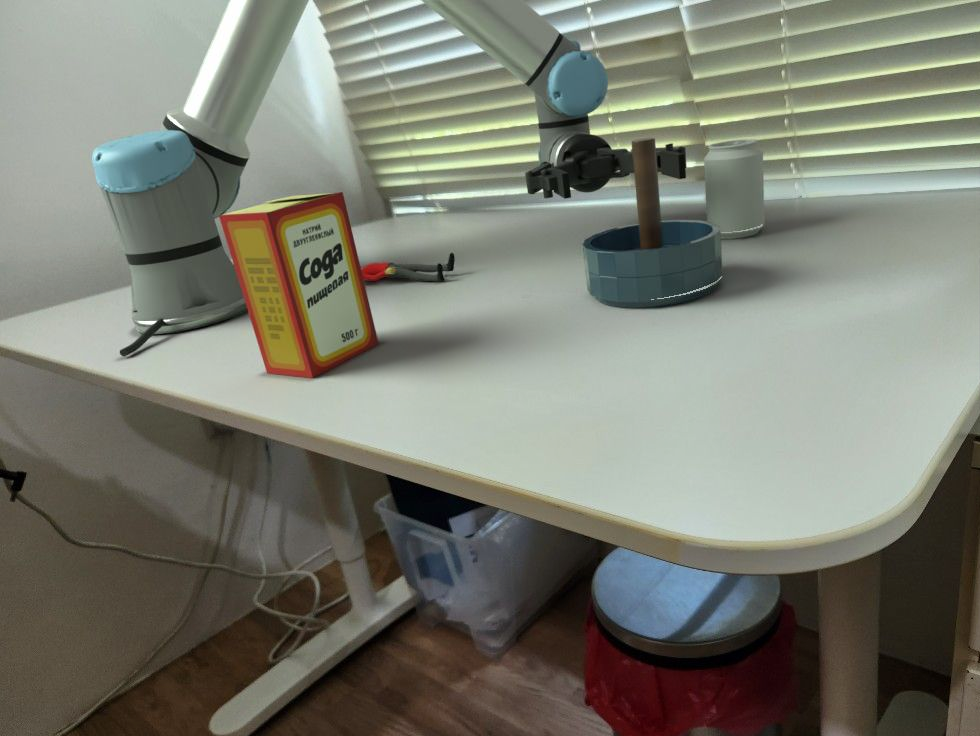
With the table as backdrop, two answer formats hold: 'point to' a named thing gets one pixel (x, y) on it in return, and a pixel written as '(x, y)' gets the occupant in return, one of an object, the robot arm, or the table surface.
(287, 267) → the baking soda box
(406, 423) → the table surface
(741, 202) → the can
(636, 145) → the muddler
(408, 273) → the person figure
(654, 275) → the bowl
